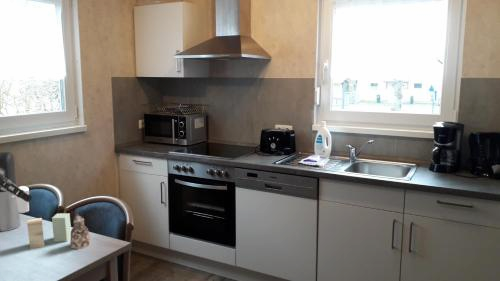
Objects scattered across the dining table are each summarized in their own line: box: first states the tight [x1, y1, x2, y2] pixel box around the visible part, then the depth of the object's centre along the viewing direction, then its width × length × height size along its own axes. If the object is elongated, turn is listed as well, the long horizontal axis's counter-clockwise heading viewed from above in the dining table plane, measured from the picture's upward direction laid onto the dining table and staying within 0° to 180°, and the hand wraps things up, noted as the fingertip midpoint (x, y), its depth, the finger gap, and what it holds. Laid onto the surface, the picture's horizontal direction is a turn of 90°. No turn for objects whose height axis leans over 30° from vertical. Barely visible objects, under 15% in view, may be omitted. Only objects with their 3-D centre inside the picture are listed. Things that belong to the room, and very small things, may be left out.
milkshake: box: [15, 185, 30, 214], centre depth 145 cm, size 5×5×10 cm
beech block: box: [26, 217, 45, 250], centre depth 160 cm, size 5×5×10 cm
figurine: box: [70, 213, 91, 250], centre depth 160 cm, size 7×7×12 cm
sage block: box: [51, 212, 72, 243], centre depth 165 cm, size 5×5×10 cm
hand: (27, 198), depth 146 cm, fingers closed on milkshake, 4 cm apart
